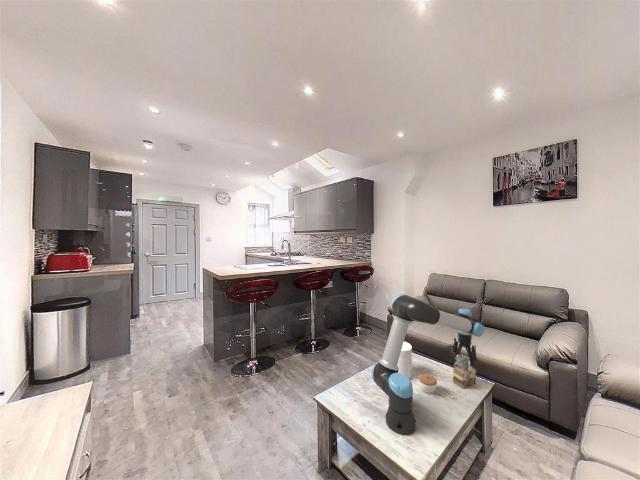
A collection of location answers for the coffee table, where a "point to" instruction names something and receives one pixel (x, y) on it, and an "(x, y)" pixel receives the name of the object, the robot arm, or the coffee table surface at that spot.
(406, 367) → the canister
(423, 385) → the lidded jar
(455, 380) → the tower base
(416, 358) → the coffee table surface
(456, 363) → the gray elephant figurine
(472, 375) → the light wooden block
